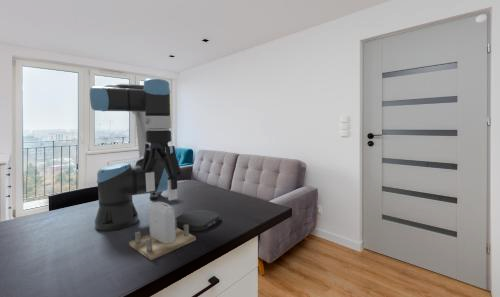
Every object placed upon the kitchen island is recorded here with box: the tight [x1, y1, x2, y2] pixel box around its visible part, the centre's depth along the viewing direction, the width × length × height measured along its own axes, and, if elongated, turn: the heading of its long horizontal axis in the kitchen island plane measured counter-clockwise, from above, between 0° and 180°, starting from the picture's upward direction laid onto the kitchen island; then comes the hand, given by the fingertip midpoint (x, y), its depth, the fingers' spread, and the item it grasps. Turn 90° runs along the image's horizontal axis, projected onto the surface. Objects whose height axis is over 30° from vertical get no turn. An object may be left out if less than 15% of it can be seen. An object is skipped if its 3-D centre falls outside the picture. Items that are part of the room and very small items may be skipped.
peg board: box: [128, 218, 197, 261], centre depth 80 cm, size 14×16×5 cm
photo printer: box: [148, 201, 176, 244], centre depth 80 cm, size 10×4×12 cm, turn 54°
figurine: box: [149, 190, 167, 201], centre depth 130 cm, size 9×12×15 cm
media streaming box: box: [175, 209, 220, 232], centre depth 97 cm, size 15×15×3 cm
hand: (161, 195), depth 79 cm, fingers open, 13 cm apart
